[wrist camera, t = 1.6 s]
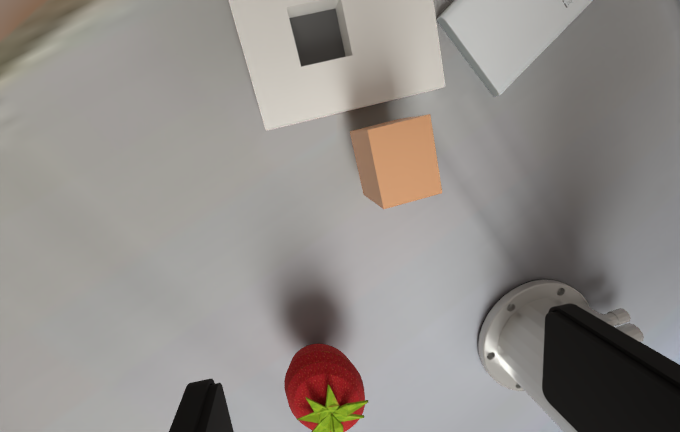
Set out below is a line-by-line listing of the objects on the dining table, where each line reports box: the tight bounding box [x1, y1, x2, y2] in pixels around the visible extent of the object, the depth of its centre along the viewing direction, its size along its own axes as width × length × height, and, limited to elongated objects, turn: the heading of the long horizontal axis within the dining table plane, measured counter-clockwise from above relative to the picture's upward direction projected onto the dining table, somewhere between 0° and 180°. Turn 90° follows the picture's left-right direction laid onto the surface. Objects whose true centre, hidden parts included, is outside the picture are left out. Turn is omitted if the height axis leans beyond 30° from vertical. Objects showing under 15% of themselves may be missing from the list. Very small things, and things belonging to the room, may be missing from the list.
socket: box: [229, 0, 445, 131], centre depth 24 cm, size 14×11×2 cm
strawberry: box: [285, 344, 368, 432], centre depth 27 cm, size 6×8×10 cm
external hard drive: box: [436, 0, 593, 97], centre depth 27 cm, size 2×8×12 cm
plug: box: [350, 114, 442, 209], centre depth 24 cm, size 4×5×8 cm
